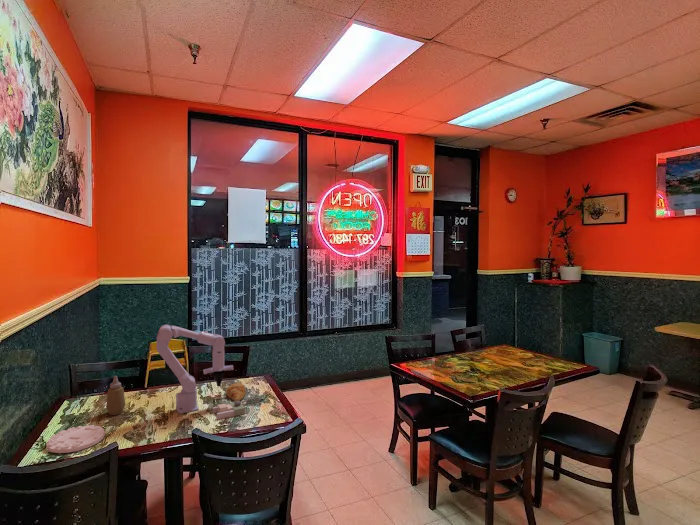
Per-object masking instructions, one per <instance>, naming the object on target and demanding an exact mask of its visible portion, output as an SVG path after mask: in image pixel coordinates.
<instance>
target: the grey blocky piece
mask: <svg viewBox="0 0 700 525" xmlns="http://www.w3.org/2000/svg"><path fill="white" fill-rule="evenodd" d="M229 404H230V405H231V406H232V407H233V410H230V411H225V412H220V413H218V405H217V406H213V407H212V414H216V419H217V420H222V419H226V418H231V417H238V416H242V415H246V407H245V406H244V405H243V404H242V401H241V400H240V401H232V402H231V401H230V402H229V403H227V404H226V405H229Z"/></svg>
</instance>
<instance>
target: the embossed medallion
mask: <svg viewBox="0 0 700 525" xmlns="http://www.w3.org/2000/svg"><path fill="white" fill-rule="evenodd" d="M105 434H106V433H105V429H104V427H102V426H100V425H94V424H89V425H85V426H82V425H79V426H77V427H75V426H72V427H69V428H67V429H66V430H64V429H63V430H60V431H59V432H57V433H56V434H53V435H52V436H51V437H49V439H48V440H47V441H46V450H47V451H48V452H50V453H55V454H65V453H66V454H67V453H74V452H78V451H82V450H84V449H87V448H90V447H93V446H94V445H96V444H98V443H100V442H101V441H102V440H103V439H104V438H105Z"/></svg>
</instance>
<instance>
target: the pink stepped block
mask: <svg viewBox="0 0 700 525" xmlns="http://www.w3.org/2000/svg"><path fill="white" fill-rule="evenodd" d="M228 404H229V403H228ZM217 406H218V413H220V412H225V411H230V410H233V407H232V406H231V405H230V404H229V405H227V404H226V403H225V402H224V403H222V404H220V403H219V404H217Z"/></svg>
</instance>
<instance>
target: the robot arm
mask: <svg viewBox="0 0 700 525" xmlns="http://www.w3.org/2000/svg"><path fill="white" fill-rule="evenodd" d="M178 337H183V338H188V339H193V340H196V341H197V343H199V344H203V345H206V346H209V347H210V346H212V367H209V368H205V369H203V370H202V372H203V374H204V375H207V374H212V375H213V376H214V379H215V382H216V386H217V387H221V384H222V381H223V378H224V376H225V374H226V372H225V371H234V365H233V364H230V365H225V346H226V341H225V338H224V336H222V335H220V334H217V333H210V332H208V331H207V330H204V331H203V330H202V331H200V332H197V331H193V330H189V329H186V328H183V327H181V326H176V325H170V324H163V325H161V326H160V327H159V329H158V331H157V335H156V351H157V352H158V354H159V356H160V357H161V358H162V359H163V361H164V362H165V363H166V365H167V366H168V367H169V368H170V370H171V371H172V373H173V374H174V376H176V377H177V379H178V382H179V384H180V385H181V391H179V392H177V393H176V394H175V409H176V412H177V413H178V414H184V413H189V412H193V411H194V412H195V411H199V410H200V408H199V406H198V405H197V404H198V399H197V398H198V397H197V396H198V395H197V393H198V392H197V391H198V389H197V384H196V378H195V377H194V376H193V375H191V374H190V373H189V372H188V371H187V370H186V369H185V367H184V366H183V365H182V364H181V363H180V361H179V359H177V357H176V356H175V354H174V352H173V351H172V350H171V349H170V348H169V344H170V341H171V340H172V338H174V339H175V338H178Z"/></svg>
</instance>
